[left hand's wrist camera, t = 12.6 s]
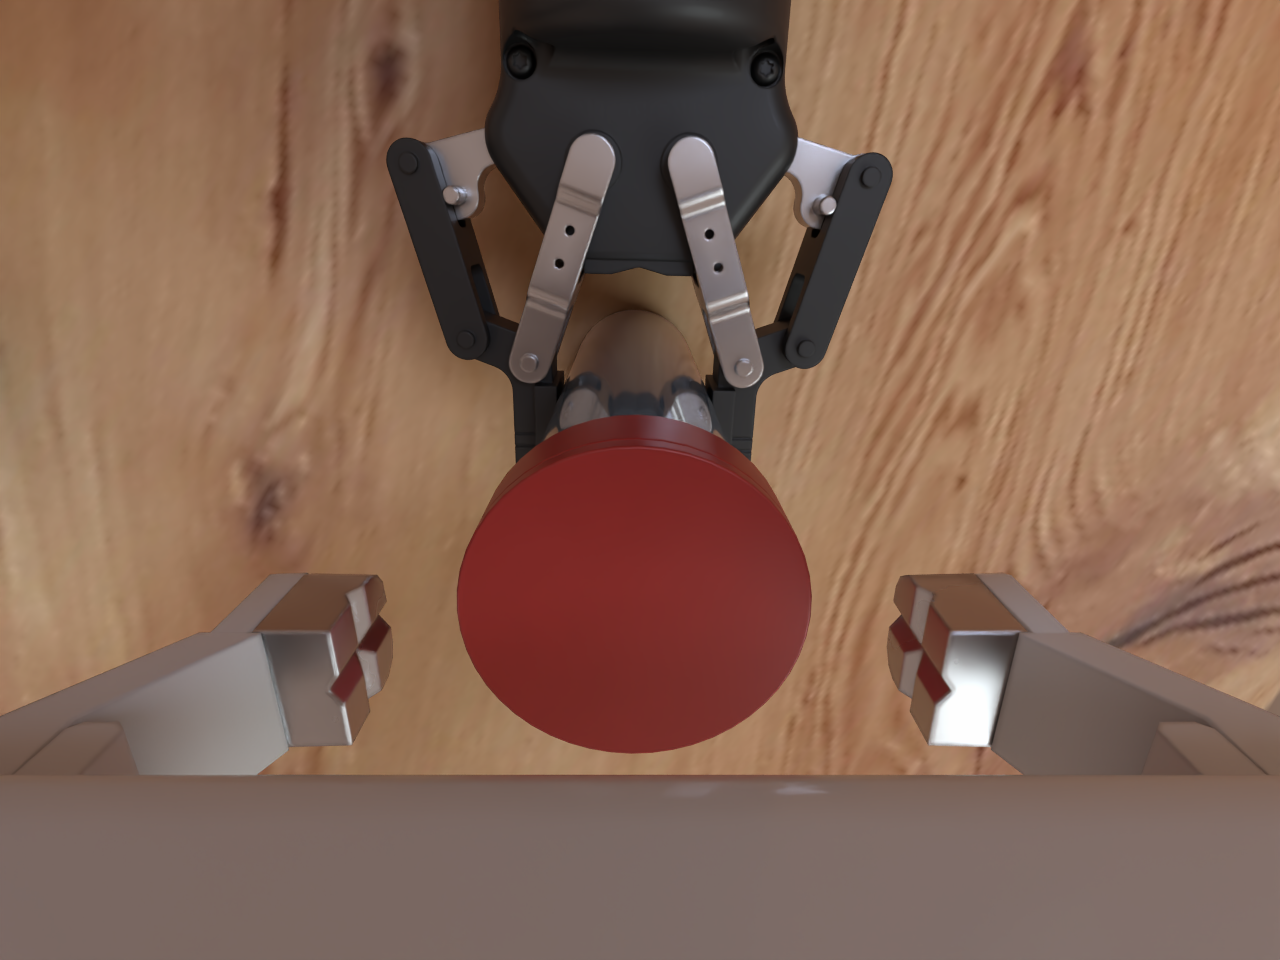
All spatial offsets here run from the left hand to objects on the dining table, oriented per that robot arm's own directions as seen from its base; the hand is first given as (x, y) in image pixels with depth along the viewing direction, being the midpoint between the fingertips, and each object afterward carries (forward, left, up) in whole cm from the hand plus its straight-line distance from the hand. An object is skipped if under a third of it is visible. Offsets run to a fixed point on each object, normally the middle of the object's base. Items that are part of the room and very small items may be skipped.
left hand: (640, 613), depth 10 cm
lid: (0, 0, -1) cm, 1 cm away
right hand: (-1, -3, -12) cm, 13 cm away
